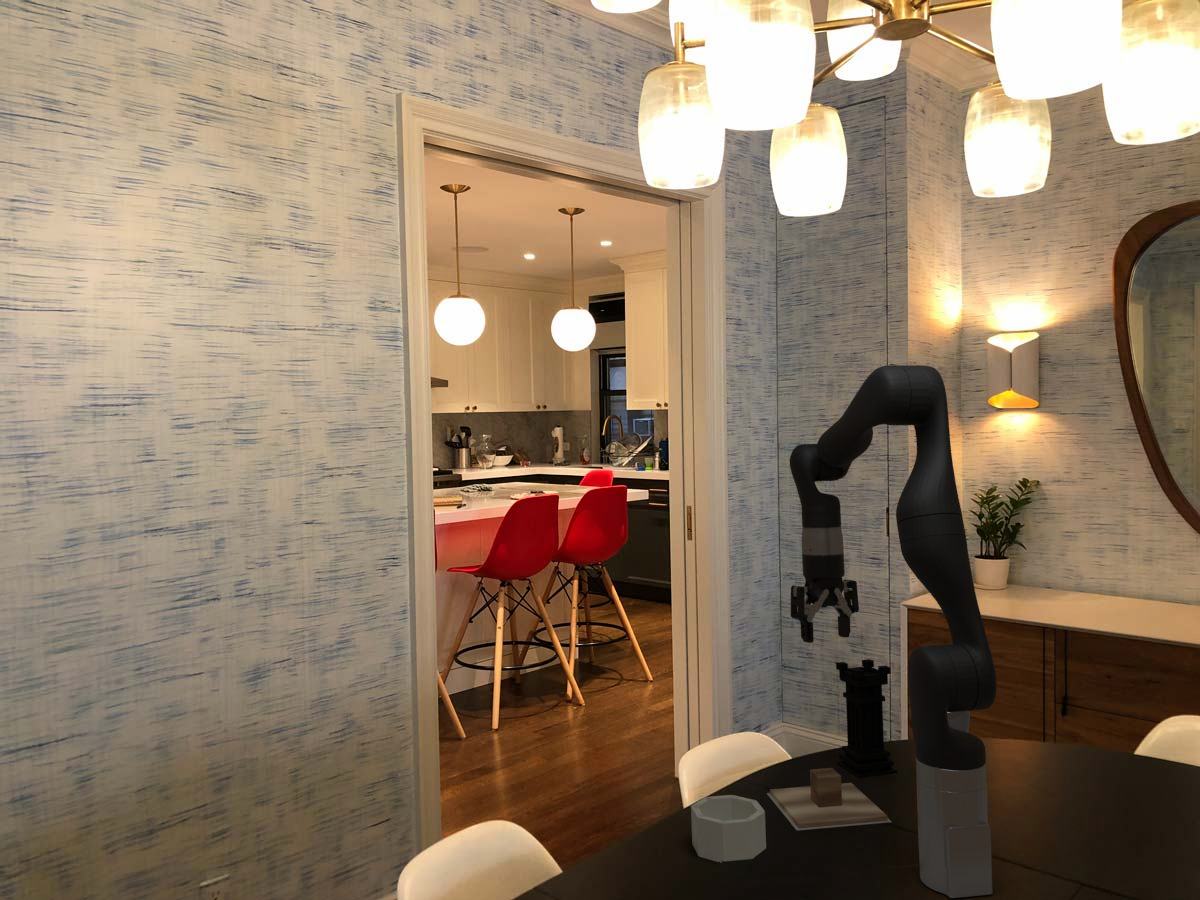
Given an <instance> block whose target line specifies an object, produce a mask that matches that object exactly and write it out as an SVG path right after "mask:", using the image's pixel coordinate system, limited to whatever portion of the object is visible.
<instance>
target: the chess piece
mask: <svg viewBox="0 0 1200 900" xmlns="http://www.w3.org/2000/svg"><path fill="white" fill-rule="evenodd" d="M835 668H836V670H837V671H838V673H839V675H838V677H839V678H838V679H839V681H842V682H844V683H845V691H844V692H842V698H845V703H846V704H845V705H846V708H845V709H846V731H847V733H846V734H847V737H846V738H847V745H842V746H841V751H843V753H840V754H839V753H838V755H839V756H838V757H839V758H838V759H839V760H841V761H836V765H837V766H838V767H840V768H841V769H843V770H845V771H847V772H848V773H849V774H852V775H853V776H855V777H856V778H858V779H864V778H871V777H878V776H884V775H891V774H897V773H898V770H897V769H895V768H893V766H895V764H894V763H895V762H894V761H893V760H892V759H890V758H891V752H890V751H889V750H887V749H885V741H884V739H885V738H884V710H883V708H884V707H883V702H886V696H884V695H883V686H885V685H889V680H888V679H889V678H888V675H891V667H890V666H889V665H879V666H877V668H875V661H874V660H872V659H870V658H869V659H868V658H867V659H861V666H856V667H849V663H847V662H845V661H838V662H836V663H835Z"/></svg>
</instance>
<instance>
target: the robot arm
mask: <svg viewBox="0 0 1200 900" xmlns="http://www.w3.org/2000/svg"><path fill="white" fill-rule="evenodd" d="M949 420H950V419H949V407H948V397H947V391H946V385H945V383H944V380H943V376H942V375H941V373H940V372H939V370H937V369H936V368H935V367H933V366H929V365H922V364H915V365H905V364H904V365H903V364H902V365H897V364H890V365H889V364H888V365H882V366H880V367H877V368H876V369H874V370H873V371H872V372H871V373H870V374H869V375H868V376H867V377H866V379H864V381H863V383H862V384H861V386H860V388H859V389H858V390H857V392H856V394H855V395H854V397H853V399H851V401H850V403H849V405H848V406H847V408H846V410H845V411H844V412H843V414H842V416H840V417H839V418H838V420H836V421H835V422H834V423H833V424H832V425H831V426H830V427H829V428H828V429H826V430H825V431H824V432H823V433H822V434H821V435H820V436H819V438H818V440H817V443H802V444H798V445H796V446H795V447H794V448H793V450H792V451H791V453H790V457H789V468H790V472H791V475H792V478H793V481H794V483H795V487H796V490H797V494H798V497H799V500H800V506H801V507H800V508H801V526H802V529H801V530H802V532H801V558H802V559H801V560H802V562H801V563H802V565H801V566H802V576H803V577H804V580H805V583H804V585H802V586H801V585H794V584H793V585H791V587H790V617H791V618H792V619H794V620H798V621H799V622H800V637H801V640H802V641H803V642H804V643H807V644H811V643H814V622H813V619H814V618H815V615H816V614H817V613H818V612H819V611H820V610H821V609H823V608H827V607H832V608H834V610H835V611H836V612H837V614H838V616H837V631H838V636H839V637H841V638H849V637H850V634H851V617H852V616H853V614H855V613H859V610H860V605H859V604H860V602H859V593H858V584H857V583H858V582H857V581H856V580H854V579H853V580H852V579H846V578H845V579H843V577H845V574H846V572H845V571H846V570H845V554H844V553H845V551H844V548H845V547H844V546H845V545H844V537H843V536H844V535H843V531H842V513H841V512H842V511H841V510H842V509H841V502H840V498H839V497H838V496H836V495H834V494H830V493H823V492H821V491H820V490H819V489H818V486H817V484H816V482H834V481H839V480H841V479H842V478H845V477H846V476H847V475H848V472H849V470H850V467H851V465H852V463H853V461H855V460H856V459H857V458H859V457H861V456H862V455H863V454H864V453H865V452H866V451H867V449H869V447H870V445H871V444H872V441H873V437H874V429H873V428H874V427H877V426H880V425H886V426H913V428H914V432H915V440H916V443H915V444H916V455H915V460H914V464H913V468H912V469H911V472H910V475H909V476H908V479H907V481H906V483H905V485H904V486H903V489H902V492H901V494H900V497H899V499H898V502H897V504H896V505H897V506H896V509H895V518H896V529H897V533H898V540H899V545H900V552H901V554H902V555H901V556H902V557H903V559H904V561H905V563H906V564H907V566H908V568H909V569H910V570H911V572H912V573H913V575H914V576H915V578H917V580H918V581H919V582H920V583H921V584H922V585H923V586H924V588H925V589H926V590H927V591H928V593H929V594H930V595H931V596H932V598H934V600H935V602H936V603H937V604H938V606H939V608H940V609H941V611H942V613H943V615H944V617H945V619H946V623H947V626H948V630H949V633H950V637H951V641H952V642H951V643H949V644H948V643H947V644H932V645H922V646H917V647H915V648H914V649H913V650H912V651H911V653H910V655H909V657H908V663H907V683H908V694H909V704H910V717H911V729H912V730H911V732H912V735H913V741H914V747H915V767H916V768H915V770H916V771H915V773H916V774H915V775H916V803H917V805H916V807H917V829H918V832H917V833H918V855H919V857H918V858H919V860H918V861H919V877H920V878H919V879H920V880H921V882H922V883H923V884H924V885H925V886H926V887H927V888H929V889H931V890H933V891H935V892H938V893H941V894H944V895H946V896H947V897H948V898H949V899H956V898H958V899H959V898H968V897H978V896H989V895H993V871H992V869H993V868H992V867H993V866H992V844H991V843H992V842H991V837H992V836H991V826H990V824H989V819H988V815H989V814H988V813H989V812H988V792H987V791H988V789H987V754H986V753H987V752H986V745H985V744H984V741H983V740H982V739H981V738H979V737H978V736H976V735H974V734H972V733H971V732H968V733H967V732H964V731H960V730H957V729H953V728H951V727H949V724H948V719H947V712H960V711H969V712H971V711H982V710H986V709H989V708H991V706H992V705H993V704H994V702H995V700H996V698H997V688H998V683H997V673H996V669H995V663H994V659H993V655H992V651H991V648H990V647H991V646H990V643H989V639H988V637H987V633H986V629H985V626H984V622H983V618H982V614H981V610H980V607H979V603H978V597H977V594H976V588H975V583H974V578H973V573H972V568H971V567H972V566H971V561H970V557H969V549H968V548H969V547H968V540H967V535H966V529H965V524H964V517H963V513H962V512H963V511H962V508H961V503H960V498H959V494H958V493H959V492H958V488H957V482H956V476H955V469H954V468H955V467H954V463H953V462H954V461H953V456H952V446H951V433H950V422H949ZM842 593H843V594H842Z"/></svg>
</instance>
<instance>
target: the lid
mask: <svg viewBox="0 0 1200 900" xmlns="http://www.w3.org/2000/svg"><path fill="white" fill-rule="evenodd" d="M809 780H810V781H809V785H808V786H807V785H806V786H797V787H785V788H782V787H781V788H773V789H769V793H770V794H771V796H772V797H773V798H774V799H775V800H776V802H777V803H778V804H779V805H780V806H781V808H782V809H783V810H784V811H785V813H786V814H787V815H788V816H789V817H790V819H791V820H792V821H793V822H794V823H795V825H796V826H797V827H798V828H799V829H801V828H812V827H823V826H835V825H846V824H857V823H869V822H880V821H888V819H889V816H888V815H887V814H886V813H885V812H884V811H883V810H881V809H880V807H878V806H877V805H876V804H875V803H874V802H873V801H872V800H871V799H870V798H868V796H866V795H865V794H864V793H863V792H862V791H861V790H860V789H859V788H857V786H855V785H854V784H853V783H852V782H845V783H843V782H842V775H840V773H838V772H837V771H836V770H835V769H834V768H833V767H826V768H816V769H814V768H813V769H809Z"/></svg>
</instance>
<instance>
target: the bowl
mask: <svg viewBox="0 0 1200 900" xmlns="http://www.w3.org/2000/svg"><path fill="white" fill-rule="evenodd" d="M690 813H691V814H690V815H691V839H692V841H691V842H692V844H691V845H692V846H693V848H694V850H695V852H696V855H697V856H698V858H699V857H700V858H703V859H705V860H706V859H707V860H710V861H713V862H717V863H719V862H720V864H723V862H732V861H733V862H734V861H744V860H753V859H754V858H755V857H757V856H758V855H759V854H760V853H762V852H763V851H764V850H766V849H767V839H766V838H767V837H766V836H767V835H766V811H765V810H764V808H763V807H762V806H761V805H760V803H759V802H758V801H757V800H756V799H751V798H746V797H742V796H740V795H739V796H738V795H735V794H728V795H726V794H725V795H714V796H705V797H703V798H701V800H699V801H696V802H695V803H694V804H692V805H690Z"/></svg>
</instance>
